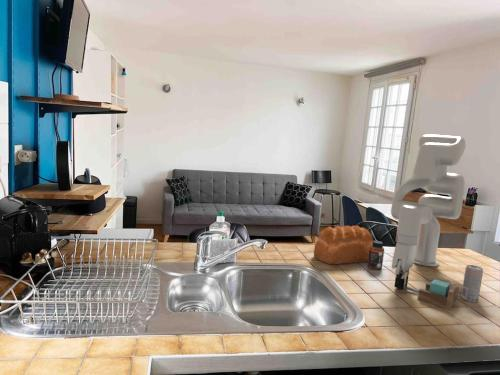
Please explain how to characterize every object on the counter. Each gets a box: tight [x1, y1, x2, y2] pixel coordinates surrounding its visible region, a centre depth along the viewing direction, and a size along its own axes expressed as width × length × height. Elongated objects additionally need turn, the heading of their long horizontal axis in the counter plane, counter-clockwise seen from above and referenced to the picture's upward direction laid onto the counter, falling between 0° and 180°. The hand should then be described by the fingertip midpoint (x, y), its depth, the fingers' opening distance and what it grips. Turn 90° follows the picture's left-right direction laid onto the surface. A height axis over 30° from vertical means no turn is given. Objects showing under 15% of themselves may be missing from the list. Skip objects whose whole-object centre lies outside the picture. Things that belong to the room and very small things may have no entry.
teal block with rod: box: [401, 272, 451, 297], centre depth 135 cm, size 17×5×6 cm, turn 49°
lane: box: [417, 282, 460, 310], centre depth 131 cm, size 9×10×6 cm
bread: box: [313, 225, 374, 265], centre depth 169 cm, size 14×26×16 cm, turn 114°
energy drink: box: [460, 264, 484, 303], centre depth 134 cm, size 5×5×12 cm
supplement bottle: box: [367, 240, 385, 270], centre depth 161 cm, size 6×6×11 cm
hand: (400, 286), depth 140 cm, fingers closed on teal block with rod, 3 cm apart
